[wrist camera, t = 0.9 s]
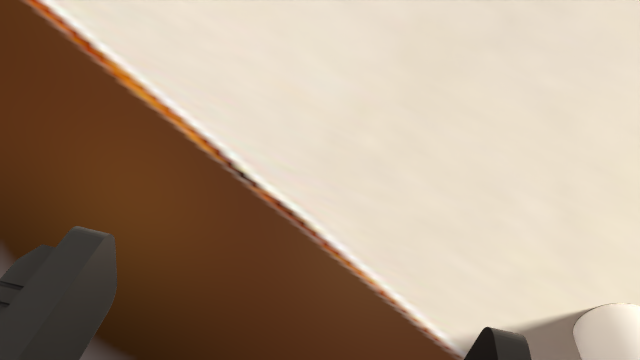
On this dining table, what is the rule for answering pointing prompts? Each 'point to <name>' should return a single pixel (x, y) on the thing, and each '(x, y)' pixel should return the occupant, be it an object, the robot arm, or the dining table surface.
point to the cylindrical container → (609, 333)
